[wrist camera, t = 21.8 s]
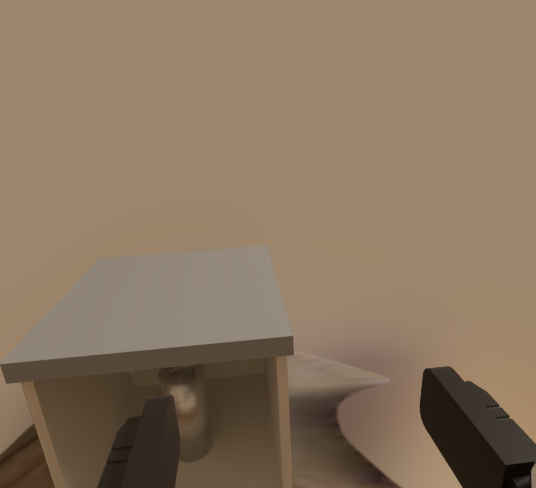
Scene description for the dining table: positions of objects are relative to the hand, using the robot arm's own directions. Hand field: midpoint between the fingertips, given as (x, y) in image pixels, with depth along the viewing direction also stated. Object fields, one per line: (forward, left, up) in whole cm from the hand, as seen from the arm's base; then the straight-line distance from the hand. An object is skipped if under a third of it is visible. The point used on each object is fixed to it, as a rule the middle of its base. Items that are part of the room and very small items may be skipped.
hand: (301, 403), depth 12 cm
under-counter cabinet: (+10, -32, -34) cm, 48 cm away
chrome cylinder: (+10, -30, -32) cm, 45 cm away
